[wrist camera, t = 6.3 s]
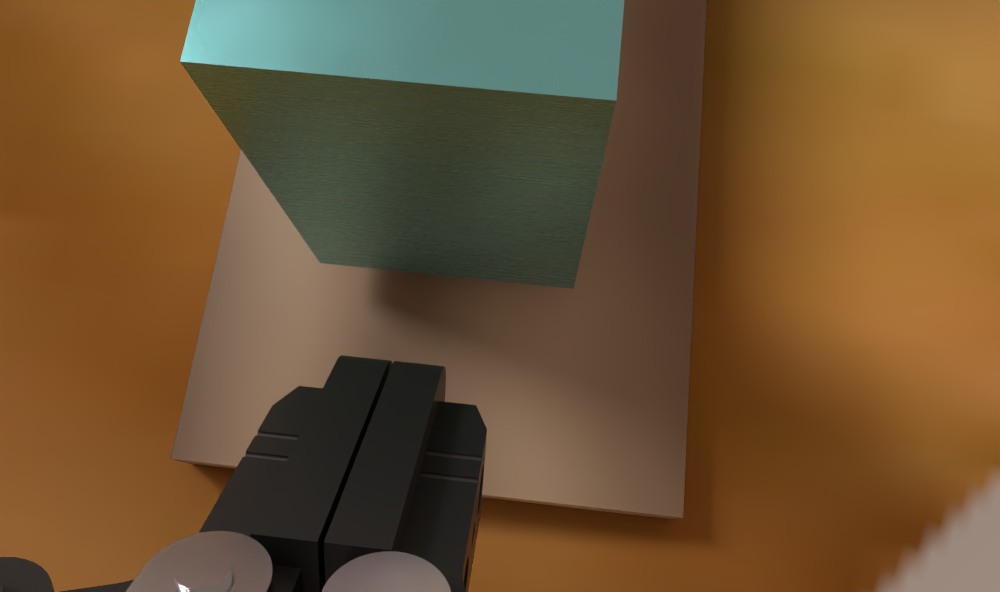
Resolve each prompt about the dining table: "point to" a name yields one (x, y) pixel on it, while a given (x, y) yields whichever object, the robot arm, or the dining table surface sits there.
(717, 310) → the dining table surface
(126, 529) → the dining table surface
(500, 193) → the slip tube
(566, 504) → the rail board
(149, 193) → the dining table surface
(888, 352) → the dining table surface
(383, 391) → the robot arm
